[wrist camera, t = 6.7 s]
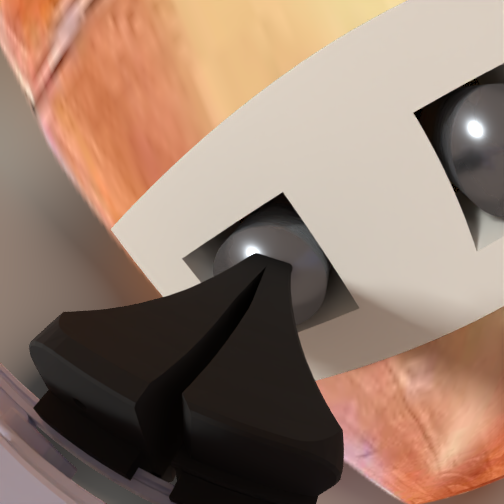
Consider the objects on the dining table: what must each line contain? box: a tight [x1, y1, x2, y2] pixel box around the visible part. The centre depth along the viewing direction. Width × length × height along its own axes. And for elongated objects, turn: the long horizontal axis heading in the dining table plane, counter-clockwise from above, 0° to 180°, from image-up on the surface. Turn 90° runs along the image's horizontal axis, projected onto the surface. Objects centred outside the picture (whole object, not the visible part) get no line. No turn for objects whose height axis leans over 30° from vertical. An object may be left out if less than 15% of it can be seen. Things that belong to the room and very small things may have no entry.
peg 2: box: [420, 84, 504, 218], centre depth 8 cm, size 4×4×4 cm
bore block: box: [111, 0, 504, 381], centre depth 10 cm, size 10×18×5 cm, turn 128°
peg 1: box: [213, 192, 331, 325], centre depth 12 cm, size 4×4×4 cm
